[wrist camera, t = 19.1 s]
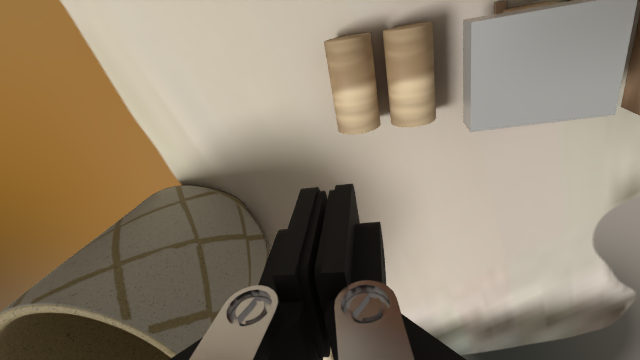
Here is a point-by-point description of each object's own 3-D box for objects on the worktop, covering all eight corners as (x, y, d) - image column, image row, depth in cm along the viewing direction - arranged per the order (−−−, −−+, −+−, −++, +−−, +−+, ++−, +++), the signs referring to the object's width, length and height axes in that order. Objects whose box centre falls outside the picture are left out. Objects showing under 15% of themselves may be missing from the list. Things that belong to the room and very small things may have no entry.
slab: (463, 19, 27) (471, 22, 24) (614, -7, 25) (638, -8, 22) (463, 121, 30) (470, 131, 28) (596, 105, 28) (615, 114, 26)
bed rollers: (325, 33, 32) (320, 38, 29) (580, -14, 28) (610, -15, 25) (340, 127, 36) (337, 141, 33) (566, 97, 32) (590, 110, 29)
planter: (110, 175, 43) (-71, 302, 25) (263, 168, 40) (177, 307, 22) (160, 293, 51) (50, 449, 34) (288, 295, 48) (241, 468, 31)
